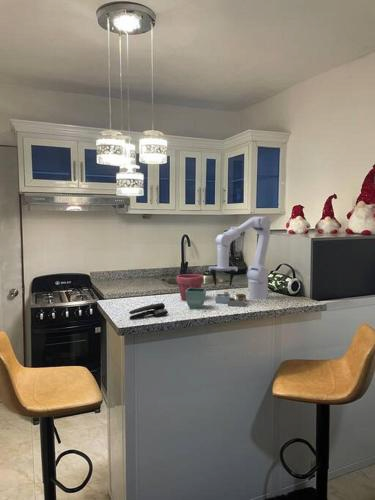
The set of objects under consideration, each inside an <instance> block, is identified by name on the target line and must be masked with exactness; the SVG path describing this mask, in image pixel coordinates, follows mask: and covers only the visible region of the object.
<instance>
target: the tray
mask: <svg viewBox="0 0 375 500" xmlns="http://www.w3.org/2000/svg"><path fill="white" fill-rule="evenodd" d="M245 303H246V302H245V298H238V301H234V297H233V298H230V299H228V304H227V307H239V308H241V307H242V308H244V307H245V306H246V305H245Z"/></svg>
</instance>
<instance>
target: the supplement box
mask: <svg viewBox="0 0 375 500" xmlns="http://www.w3.org/2000/svg"><path fill="white" fill-rule="evenodd" d="M250 266H251V265H248V267H247V268H248V270H247V272H248V271H249V269H250ZM265 268H266V269H267V271H266V274H267V278H266V280H265V281H264V282H266V283H267V293H268V294H269V288H268V287H269V267H267V266H265ZM257 270H259V269H257ZM247 282H248V283H247V285H248V286H247V287H248V288H247V290H248V291H247V292H250V281H249V279H248V278H247Z"/></svg>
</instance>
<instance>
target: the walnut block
mask: <svg viewBox="0 0 375 500" xmlns="http://www.w3.org/2000/svg"><path fill="white" fill-rule="evenodd" d="M235 296H238V298H245V303H246V302H247V294H245V293H236V294H235Z"/></svg>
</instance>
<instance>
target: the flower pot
mask: <svg viewBox="0 0 375 500" xmlns="http://www.w3.org/2000/svg"><path fill="white" fill-rule="evenodd" d="M185 292H186V300H187V301H186V303H187V306H188V308H189V309H191V310H193V309H202V307H203V305H204V303H205V301H206V296H207V293H206V292H207V288H202V287H201V288H188V289H187V290H186V291H185Z"/></svg>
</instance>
